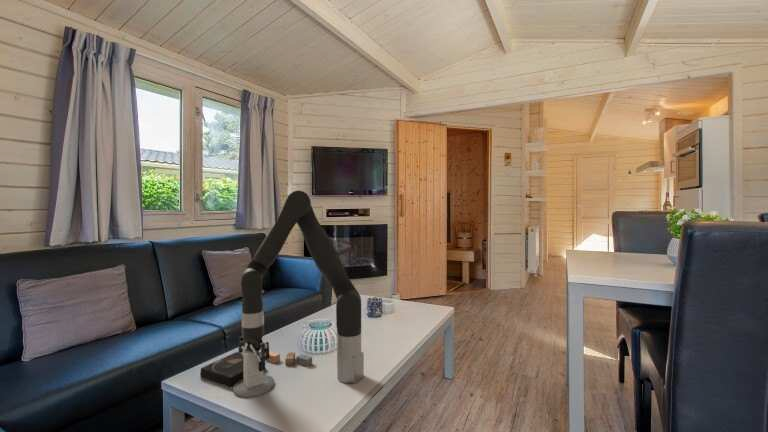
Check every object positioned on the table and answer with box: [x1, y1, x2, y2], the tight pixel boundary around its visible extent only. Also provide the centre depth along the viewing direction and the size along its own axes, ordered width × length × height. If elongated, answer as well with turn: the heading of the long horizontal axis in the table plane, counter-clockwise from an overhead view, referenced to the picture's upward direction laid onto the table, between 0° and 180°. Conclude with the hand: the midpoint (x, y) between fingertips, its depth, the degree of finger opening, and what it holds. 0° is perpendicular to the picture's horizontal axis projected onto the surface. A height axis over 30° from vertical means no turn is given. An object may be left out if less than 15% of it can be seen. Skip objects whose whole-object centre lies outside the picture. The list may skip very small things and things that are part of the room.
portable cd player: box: [199, 351, 244, 388], centre depth 137 cm, size 16×17×4 cm
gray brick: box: [295, 353, 313, 367], centre depth 145 cm, size 6×3×3 cm, turn 60°
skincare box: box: [243, 350, 264, 388], centre depth 127 cm, size 6×4×12 cm
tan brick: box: [284, 351, 296, 366], centre depth 147 cm, size 6×3×3 cm, turn 5°
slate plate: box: [232, 374, 275, 398], centre depth 127 cm, size 14×14×1 cm
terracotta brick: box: [265, 350, 281, 364], centre depth 148 cm, size 6×3×3 cm, turn 57°
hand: (254, 367), depth 126 cm, fingers open, 8 cm apart
